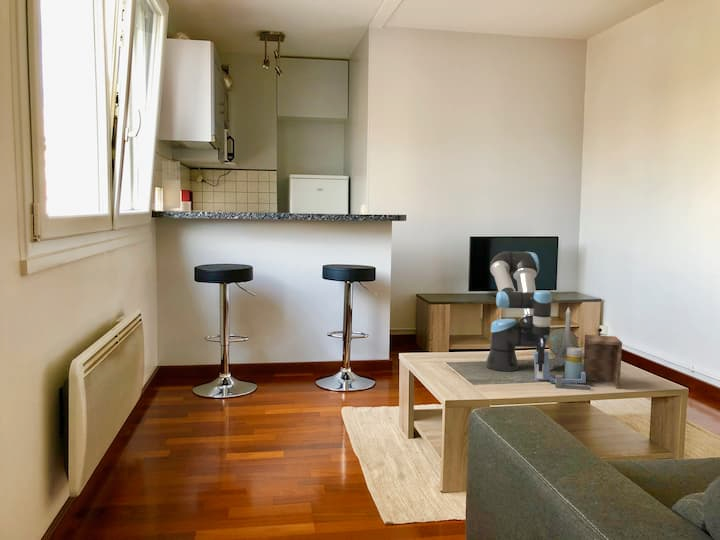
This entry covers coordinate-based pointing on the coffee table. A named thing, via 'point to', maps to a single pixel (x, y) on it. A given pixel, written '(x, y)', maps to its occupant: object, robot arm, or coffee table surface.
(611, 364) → the cubby
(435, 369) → the coffee table surface
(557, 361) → the eiffel tower
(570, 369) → the bottle
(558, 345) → the decorative sphere
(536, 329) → the robot arm
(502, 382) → the coffee table surface
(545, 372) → the pale blue bracket stand
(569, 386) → the grey long bar
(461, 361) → the coffee table surface
